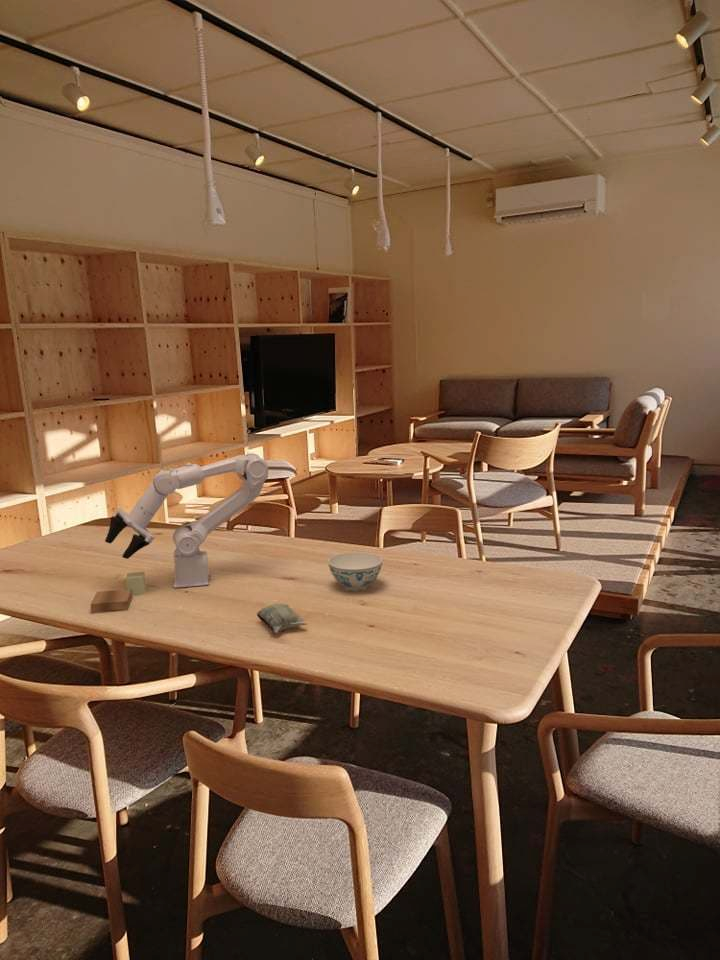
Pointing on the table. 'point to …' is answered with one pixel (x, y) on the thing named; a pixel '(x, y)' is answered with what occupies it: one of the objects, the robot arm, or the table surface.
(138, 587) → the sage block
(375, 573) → the chinaware
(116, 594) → the walnut box
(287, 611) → the packaged food
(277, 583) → the table surface
